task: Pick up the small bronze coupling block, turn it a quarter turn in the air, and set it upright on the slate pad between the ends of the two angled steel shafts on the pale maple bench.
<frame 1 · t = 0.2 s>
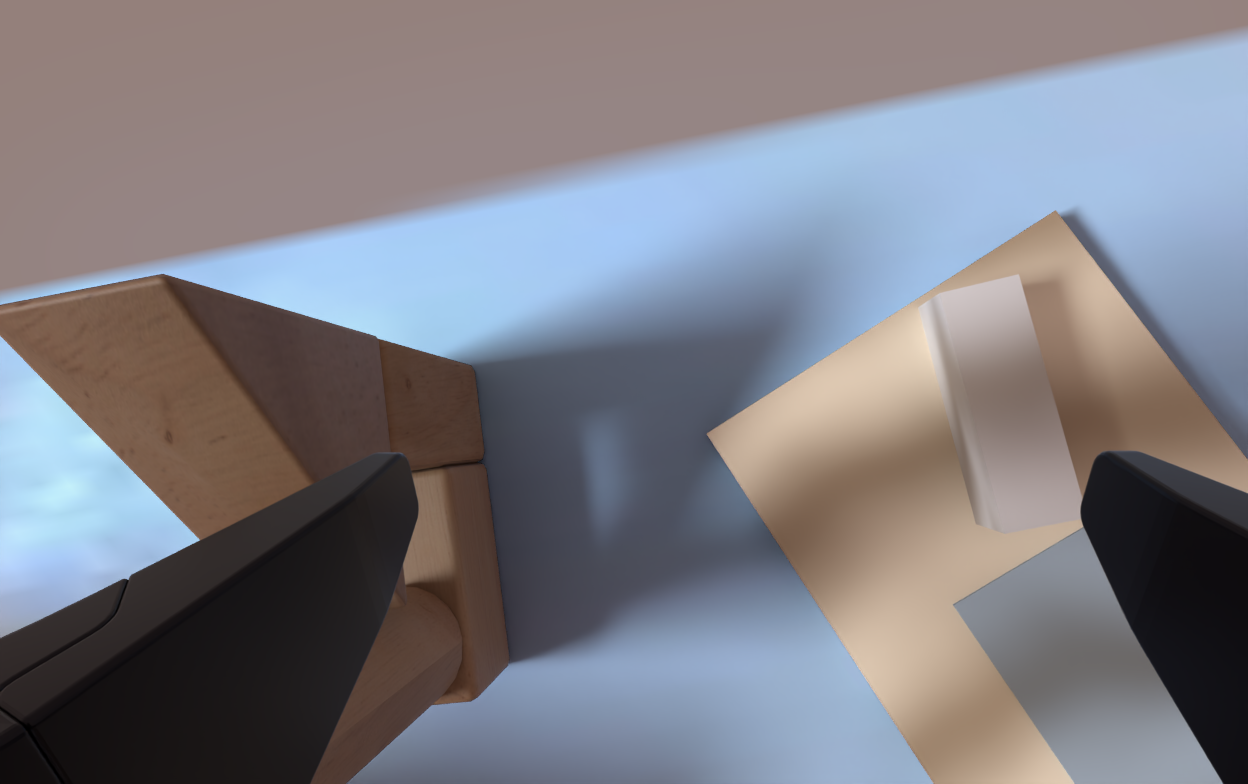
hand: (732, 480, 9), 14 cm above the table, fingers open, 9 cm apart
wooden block: (449, 516, 25), on the table
bench: (1102, 659, 21), on the table
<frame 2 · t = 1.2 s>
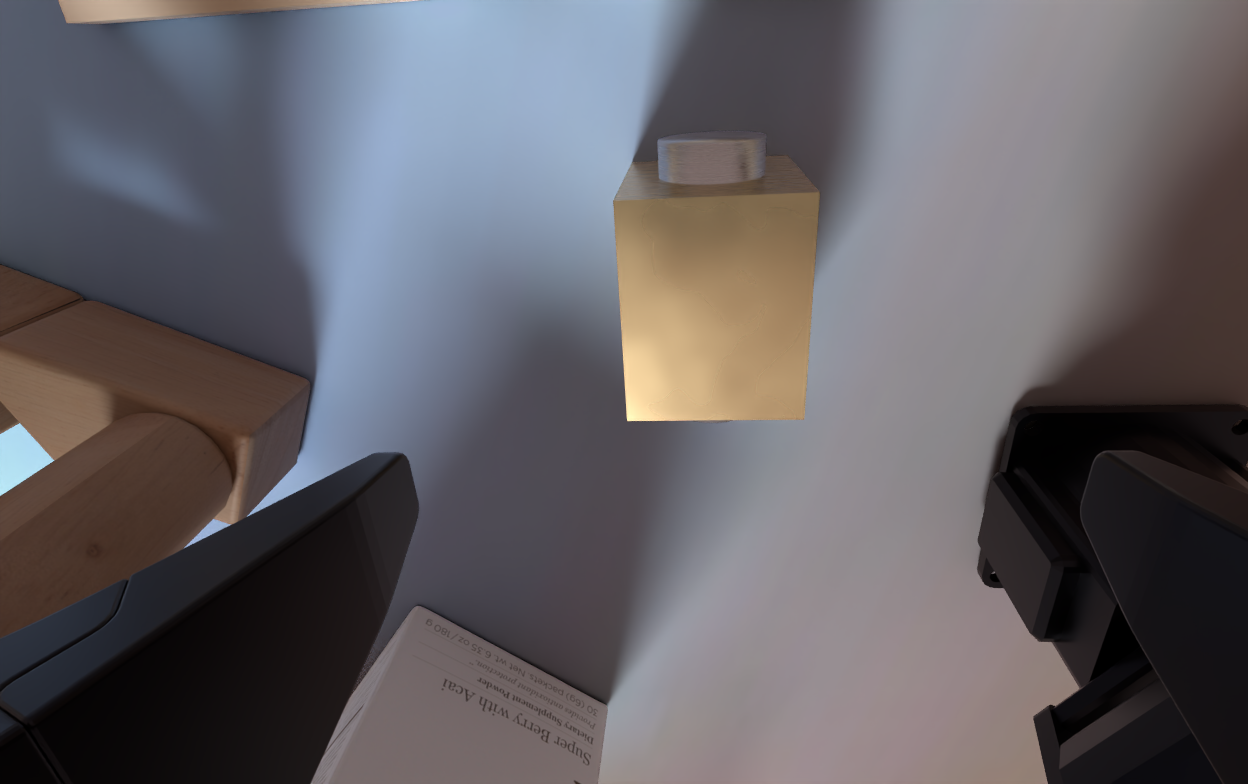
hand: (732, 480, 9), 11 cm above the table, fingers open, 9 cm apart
supplement box: (468, 707, 29), on the table
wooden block: (151, 360, 22), on the table
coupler: (709, 252, 19), on the table
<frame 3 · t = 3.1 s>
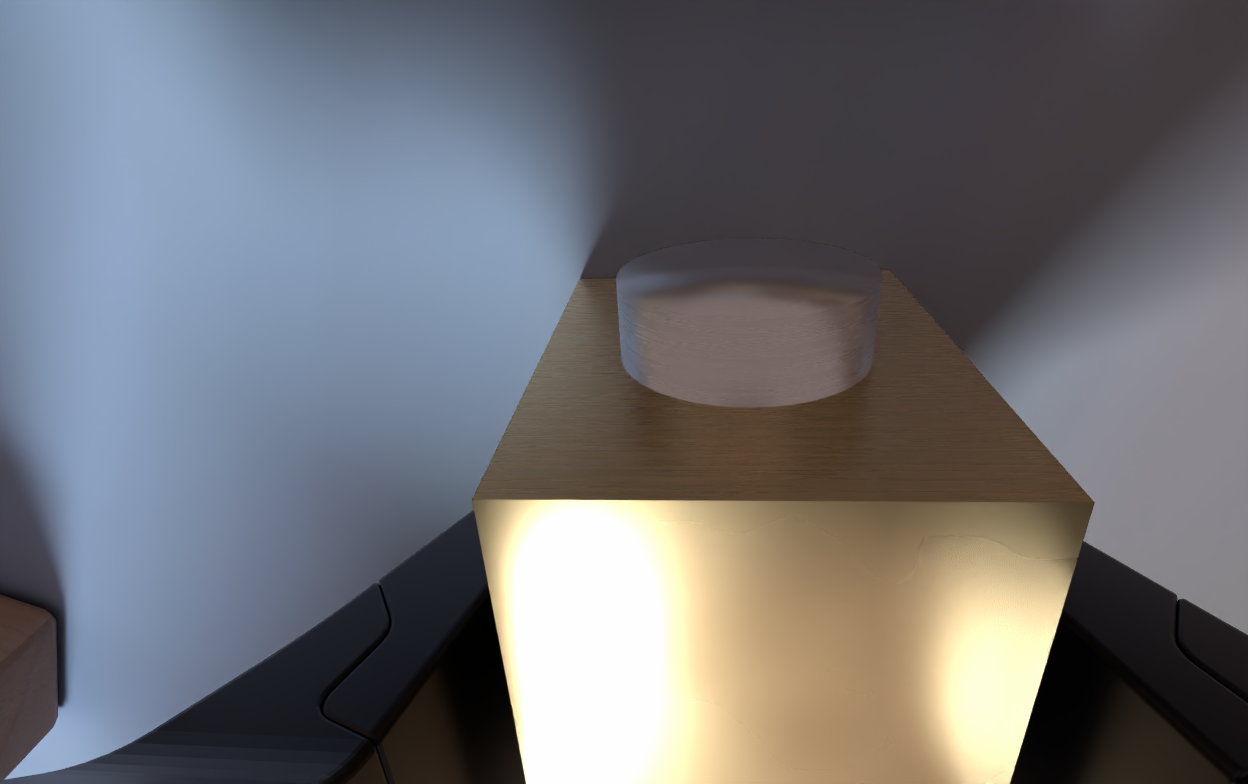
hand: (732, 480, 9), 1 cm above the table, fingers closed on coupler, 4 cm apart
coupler: (729, 439, 10), on the table, touching gripper
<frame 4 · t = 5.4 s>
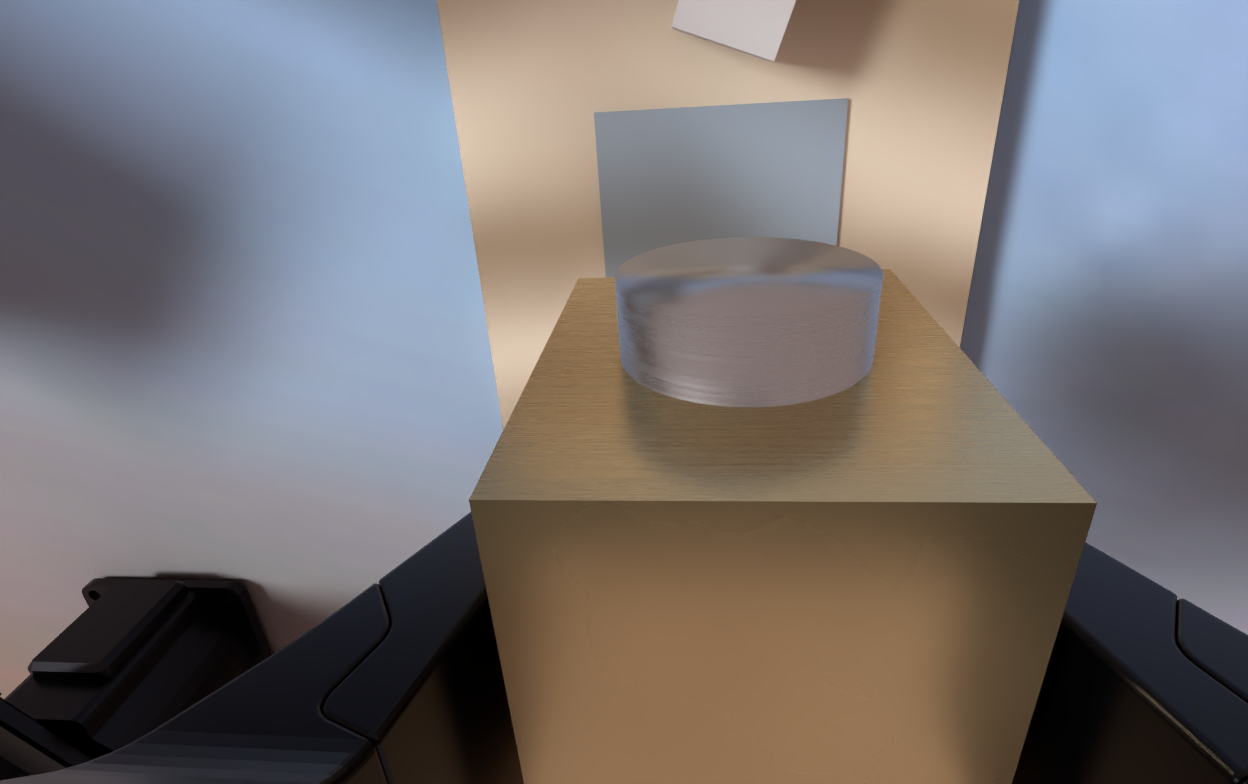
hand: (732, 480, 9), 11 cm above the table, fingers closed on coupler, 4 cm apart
bench: (716, 258, 19), on the table
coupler: (728, 439, 10), point 10 cm above the table, touching gripper
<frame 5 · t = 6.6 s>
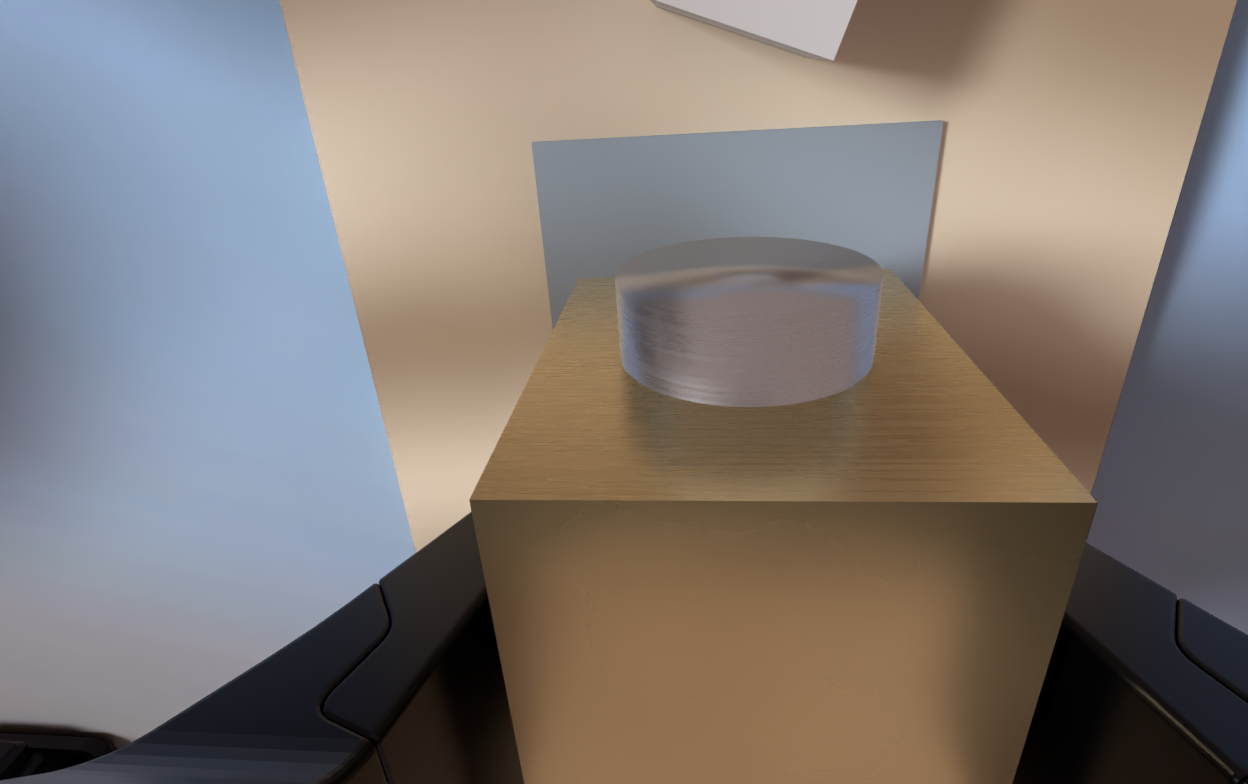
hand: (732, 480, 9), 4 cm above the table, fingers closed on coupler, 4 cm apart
bench: (725, 351, 13), on the table
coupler: (728, 439, 10), point 3 cm above the table, touching gripper
when the fingers open (4 cm above the table, at t = 7.5 s): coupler drops 1 cm, resting on bench.
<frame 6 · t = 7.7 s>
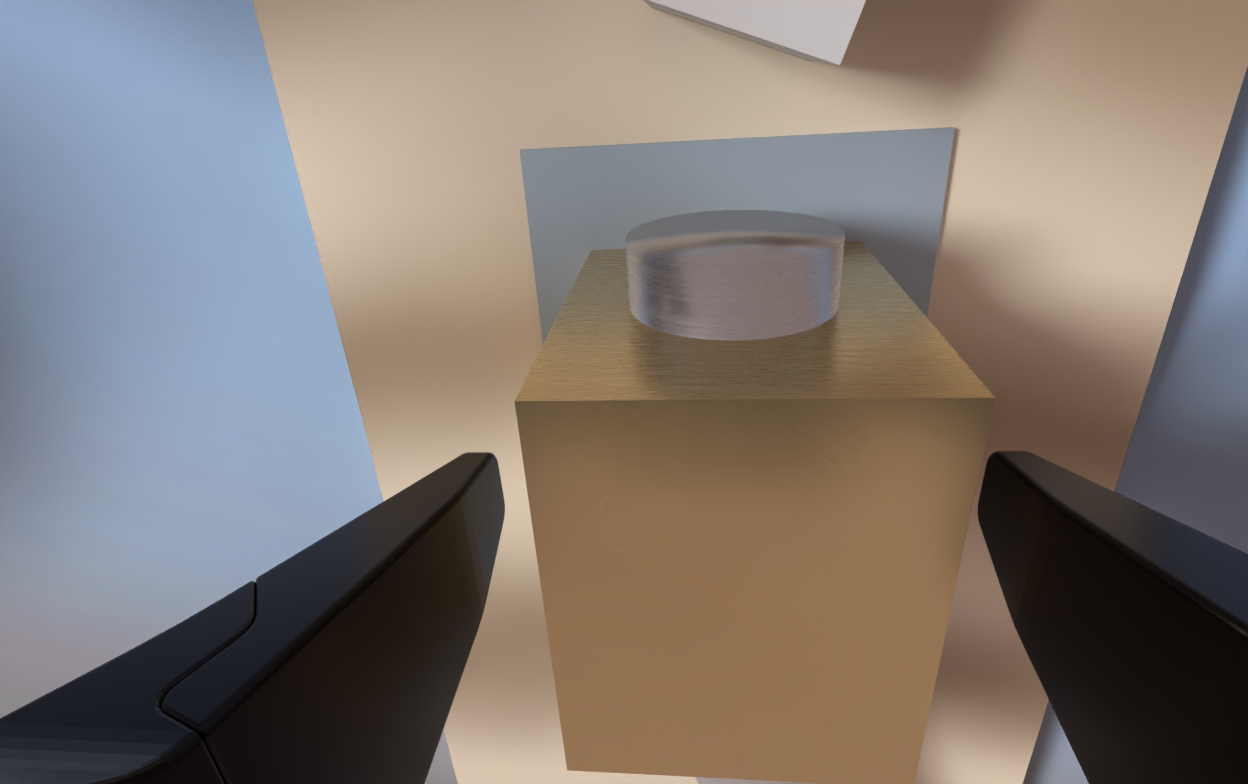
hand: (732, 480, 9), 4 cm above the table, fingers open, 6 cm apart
bench: (724, 367, 12), on the table
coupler: (722, 394, 11), point 1 cm above the table, touching bench
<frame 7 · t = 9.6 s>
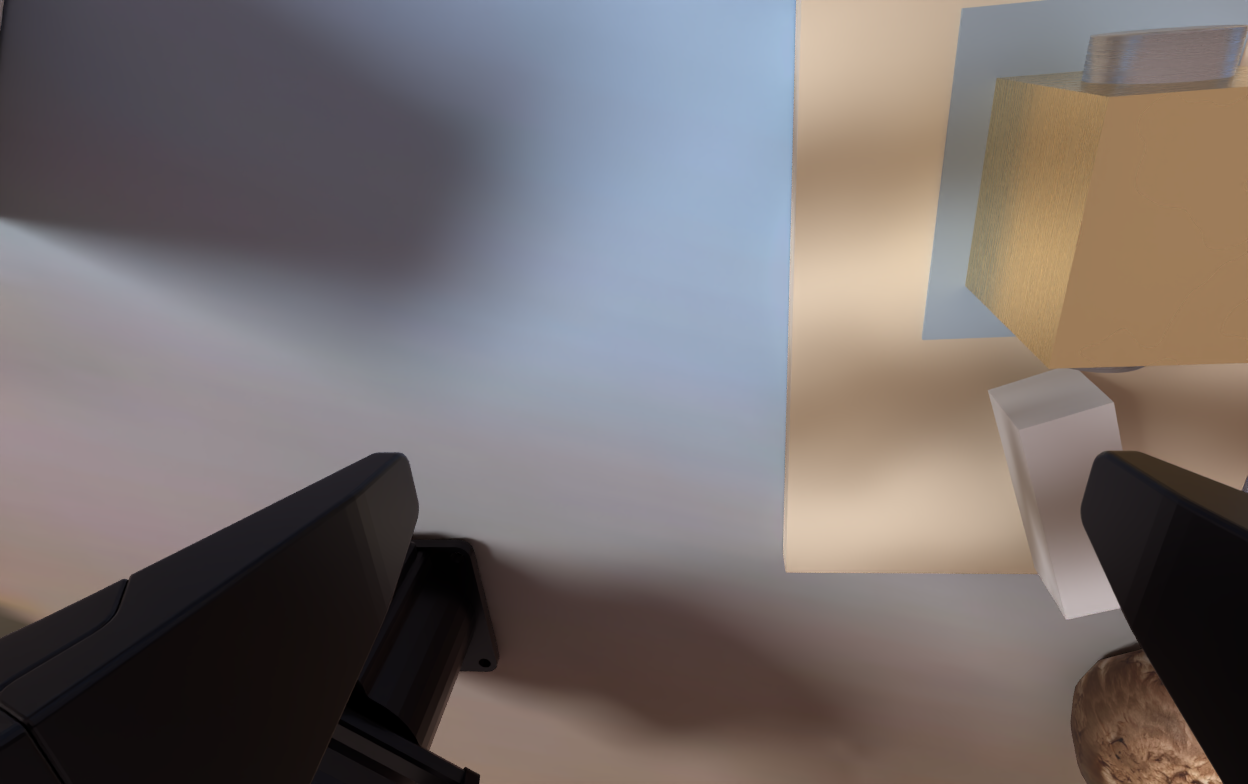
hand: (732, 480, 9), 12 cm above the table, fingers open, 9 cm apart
bench: (1050, 175, 18), on the table
mushroom: (1148, 682, 26), on the table
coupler: (1067, 183, 17), point 1 cm above the table, touching bench
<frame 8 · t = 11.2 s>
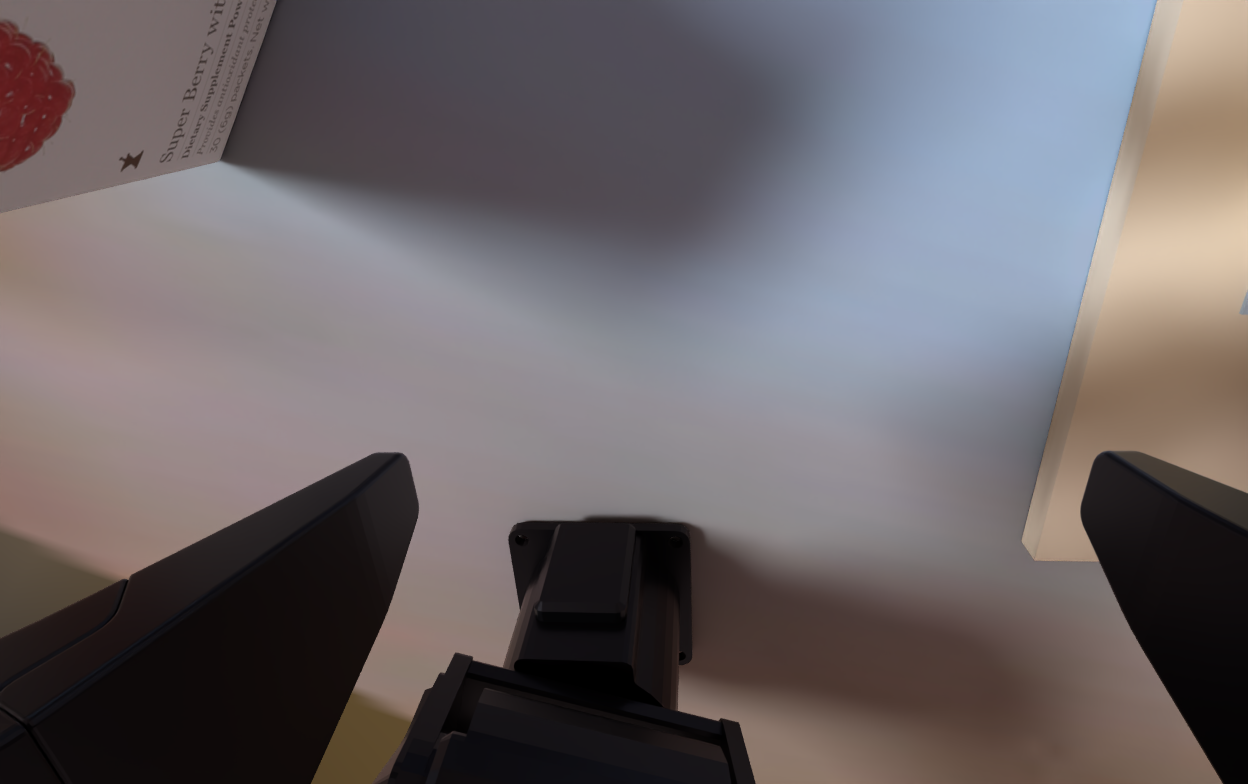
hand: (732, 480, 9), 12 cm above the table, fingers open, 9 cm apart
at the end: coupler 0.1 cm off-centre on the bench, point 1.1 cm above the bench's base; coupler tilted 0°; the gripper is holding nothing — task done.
